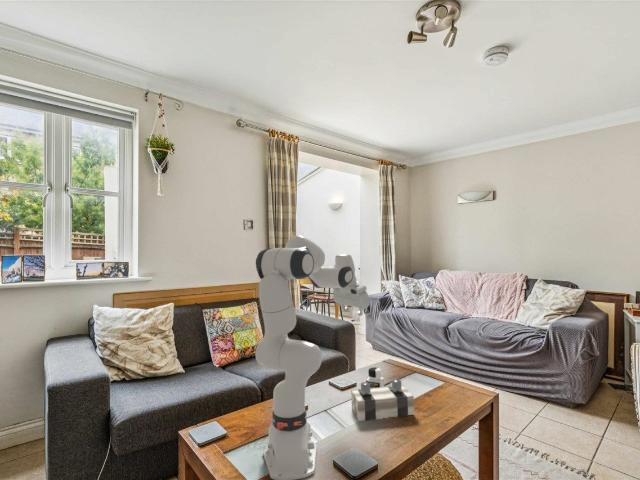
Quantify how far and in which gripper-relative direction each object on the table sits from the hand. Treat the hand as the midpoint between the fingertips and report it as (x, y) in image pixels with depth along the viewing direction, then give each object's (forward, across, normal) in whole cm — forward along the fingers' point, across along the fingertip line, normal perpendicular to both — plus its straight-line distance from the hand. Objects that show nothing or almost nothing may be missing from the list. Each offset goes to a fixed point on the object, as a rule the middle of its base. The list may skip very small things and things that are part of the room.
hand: (352, 313), depth 165 cm
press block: (+36, +21, -14) cm, 44 cm away
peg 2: (+32, +25, -7) cm, 41 cm away
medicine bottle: (+41, +7, -2) cm, 41 cm away
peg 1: (+29, +17, -18) cm, 38 cm away
